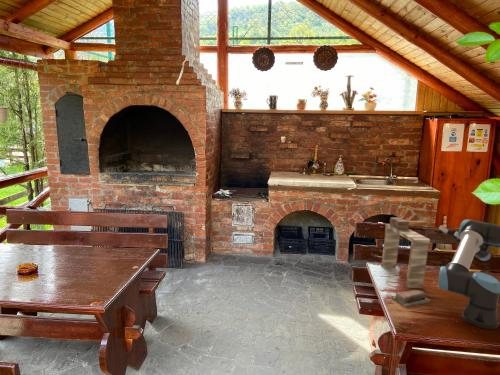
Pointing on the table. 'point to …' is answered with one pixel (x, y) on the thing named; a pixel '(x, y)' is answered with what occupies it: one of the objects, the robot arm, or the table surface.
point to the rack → (416, 254)
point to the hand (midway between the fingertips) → (447, 229)
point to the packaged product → (411, 298)
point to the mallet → (404, 223)
